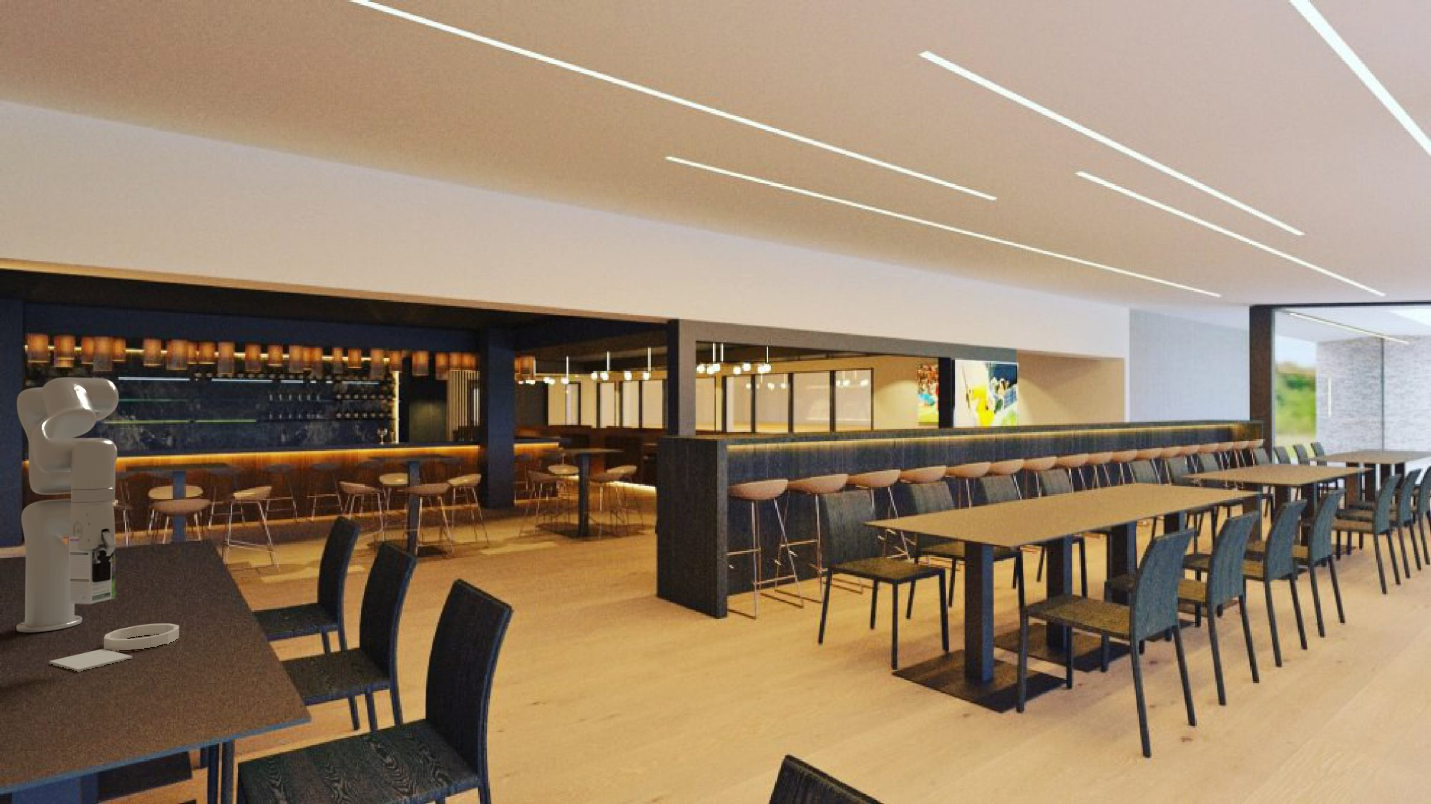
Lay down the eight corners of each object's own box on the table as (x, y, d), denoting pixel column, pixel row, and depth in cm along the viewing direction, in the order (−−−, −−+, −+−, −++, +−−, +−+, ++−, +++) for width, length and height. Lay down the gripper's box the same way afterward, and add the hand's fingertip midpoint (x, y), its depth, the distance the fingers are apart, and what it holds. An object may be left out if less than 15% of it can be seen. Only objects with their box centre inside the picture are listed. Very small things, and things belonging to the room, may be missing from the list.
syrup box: (90, 604, 167) (91, 536, 167) (67, 603, 168) (68, 535, 168) (115, 598, 172) (116, 532, 173) (93, 597, 174) (94, 531, 174)
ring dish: (91, 646, 181) (92, 635, 181) (158, 631, 194) (158, 621, 194) (125, 654, 175) (125, 643, 175) (191, 638, 187) (191, 628, 187)
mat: (49, 663, 168) (49, 661, 168) (103, 651, 177) (103, 648, 177) (78, 672, 163) (78, 669, 163) (132, 659, 172) (132, 656, 172)
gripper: (52, 496, 171) (51, 579, 171) (94, 500, 163) (93, 587, 163) (92, 493, 178) (91, 573, 178) (134, 497, 170) (133, 580, 170)
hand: (92, 579), depth 170 cm, fingers closed on syrup box, 6 cm apart
